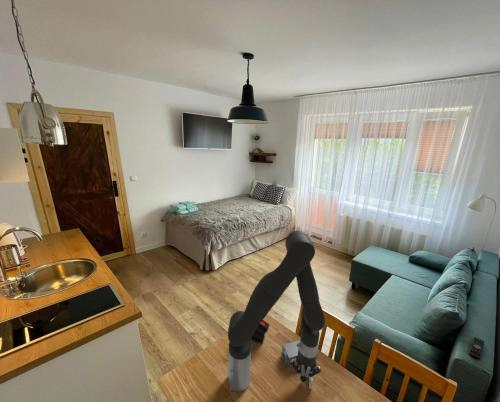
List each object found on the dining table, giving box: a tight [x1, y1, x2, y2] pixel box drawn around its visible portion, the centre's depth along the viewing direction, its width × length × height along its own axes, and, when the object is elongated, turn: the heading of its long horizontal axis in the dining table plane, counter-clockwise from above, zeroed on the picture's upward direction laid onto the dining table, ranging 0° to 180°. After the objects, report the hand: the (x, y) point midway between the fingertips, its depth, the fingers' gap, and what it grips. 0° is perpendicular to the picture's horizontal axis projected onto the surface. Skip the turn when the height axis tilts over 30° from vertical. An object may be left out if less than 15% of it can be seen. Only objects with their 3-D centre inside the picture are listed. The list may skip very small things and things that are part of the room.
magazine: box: [251, 319, 270, 345], centre depth 116 cm, size 4×13×15 cm, turn 70°
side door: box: [308, 376, 314, 389], centre depth 99 cm, size 12×1×5 cm, turn 167°
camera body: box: [280, 339, 300, 368], centre depth 106 cm, size 12×7×7 cm, turn 106°
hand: (303, 380), depth 96 cm, fingers closed
